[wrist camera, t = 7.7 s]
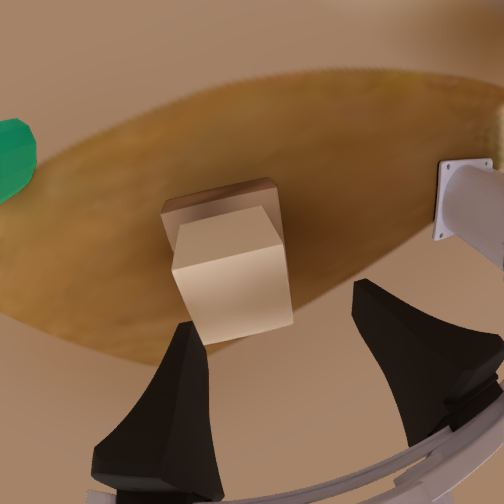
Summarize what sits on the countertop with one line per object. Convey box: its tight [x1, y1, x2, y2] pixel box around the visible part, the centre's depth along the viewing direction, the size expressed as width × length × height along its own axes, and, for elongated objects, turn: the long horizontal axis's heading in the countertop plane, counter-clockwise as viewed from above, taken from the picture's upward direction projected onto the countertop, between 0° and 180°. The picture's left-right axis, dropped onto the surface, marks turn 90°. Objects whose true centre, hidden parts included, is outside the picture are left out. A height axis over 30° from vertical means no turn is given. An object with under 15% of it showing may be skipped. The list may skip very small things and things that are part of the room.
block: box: [171, 205, 294, 345], centre depth 15 cm, size 5×5×5 cm
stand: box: [160, 177, 290, 283], centre depth 19 cm, size 7×7×2 cm
